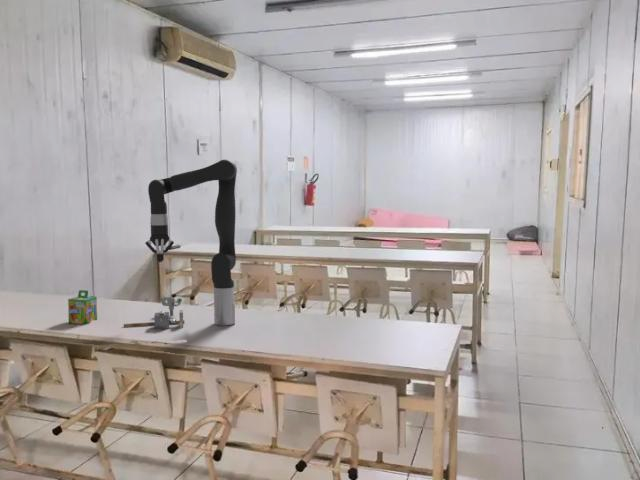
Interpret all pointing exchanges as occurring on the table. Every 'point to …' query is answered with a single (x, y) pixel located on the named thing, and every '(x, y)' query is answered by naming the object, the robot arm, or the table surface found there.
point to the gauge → (162, 320)
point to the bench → (154, 322)
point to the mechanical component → (170, 303)
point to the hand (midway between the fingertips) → (160, 261)
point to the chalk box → (82, 308)
